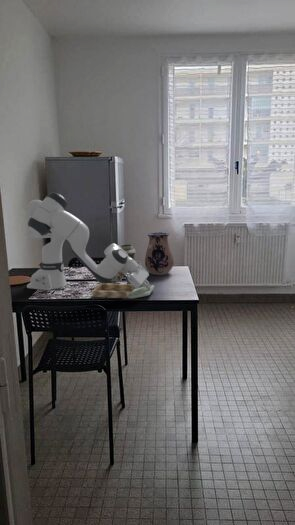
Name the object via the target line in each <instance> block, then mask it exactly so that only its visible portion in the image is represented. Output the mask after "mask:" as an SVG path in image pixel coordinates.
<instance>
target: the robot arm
mask: <svg viewBox="0 0 295 525" xmlns="http://www.w3.org/2000/svg"><path fill="white" fill-rule="evenodd" d="M67 207H68V201H67V199H66V198H65V197H64V196H63V195H61V193H57V192H50V193H49V194H47V195H46V196H45V197H44V199H43V200H40V199H33V200H31V201H29V202H28V204H27V206H26V212H27V215H28V218H29V219H28V221H27V222H26V224H25V232H26V234H27V236H28V237H30V238H35V239H47V238H49V239H50V242H48V243H46V244H45V245H43V246H42V248H41V259H42V261H41V262H40V263H39V264H38V267H39V269H38V270H37V271H35V272H34V273H33V274H32V275H31V278H30V282H29V283H28V284H27V285H26V288H27V289H32V290H33V289H34V290H41V291H51V290H56V289H61V288H64V287H66V286H67V285H68V283H67V280H66V277H65V272H64V269H65V268H64V267H65V265H64V260H63V244H64V242H65V241H66V240H67V241H68V242H69V244H70V250H71V252H72V253H73V255H74V257H76V259H78V261H79V262H81V264H82V265H83V266H84V267H85V268H86V269H87V270H88V272H90V273H91V274H92V276H93V277H94V279H95V281H97V282H99V283H100V284H101V283H108V284H111V282H112V281H111V280H112V279H113V278H114V276H115V275H116V274H117V273H118V272H119V271H121V272H122V273H123V274H124V275H123V276H125V277H126V280H128V282H129V284H132V285H133V289H138V288H141V286H142V287H145V288H147V289H148V290H149V289H150V288H151V284H150V282H149V281H148V277H149V276H150V274H149V273H150V272H149V271H148V270H147V268H145V267H144V266H142V265H141V264H142V263H141V262H140V261H139V260H135V259H134V260H133V259H132V258H130V257H129V256H128V254H127V253H126V252H125V251H124V250H123V249H122V248H121V247H119V246H120V245H118V244H116V243H115V242H113V243H109V245H108V246H107V247H105V249H104V251H103V254H104V255H105V257H104V258H103V260H101V262H100V263H99V264H97V263H96V262H95V261H94V260H93V259H92V258H91V257H90V256H89V255H88V254H87V251H86V247H87V244H88V242H89V238H90V229H89V227H88V225H87V224H85V223H84V222H83V221H82V220H80V219H79V218H78V217H77V216H75V215H73V214H72V213H70V212H68V211H66V209H67Z"/></svg>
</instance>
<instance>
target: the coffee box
mask: <svg viewBox="0 0 295 525" xmlns="http://www.w3.org/2000/svg"><path fill="white" fill-rule="evenodd" d="M122 279H123V280H124V275H123V273H122V272H121V271H119V272H118V273H117V274H116V275H115V276H114V278H113V279H112V280H111V281H110V282H122V281H123V280H122Z"/></svg>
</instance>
